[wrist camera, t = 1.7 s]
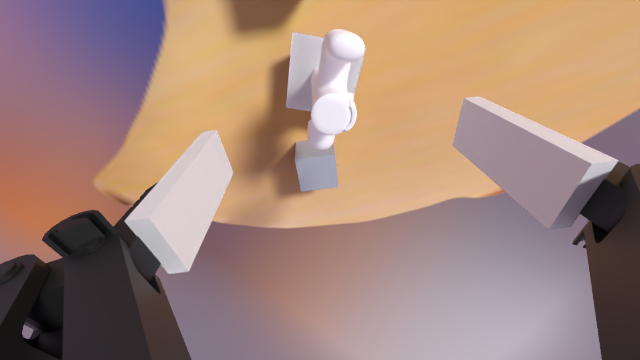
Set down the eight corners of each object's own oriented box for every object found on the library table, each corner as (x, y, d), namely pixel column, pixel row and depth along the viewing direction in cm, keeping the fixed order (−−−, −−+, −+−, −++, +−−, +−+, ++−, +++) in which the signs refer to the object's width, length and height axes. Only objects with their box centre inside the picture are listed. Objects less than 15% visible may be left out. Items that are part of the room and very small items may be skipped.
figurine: (286, 106, 30) (274, 171, 17) (295, 17, 24) (285, 19, 12) (342, 115, 31) (367, 181, 18) (361, 31, 25) (415, 46, 13)
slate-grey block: (295, 141, 33) (294, 159, 28) (331, 137, 32) (335, 154, 28) (301, 171, 35) (301, 191, 31) (334, 167, 35) (338, 187, 31)
